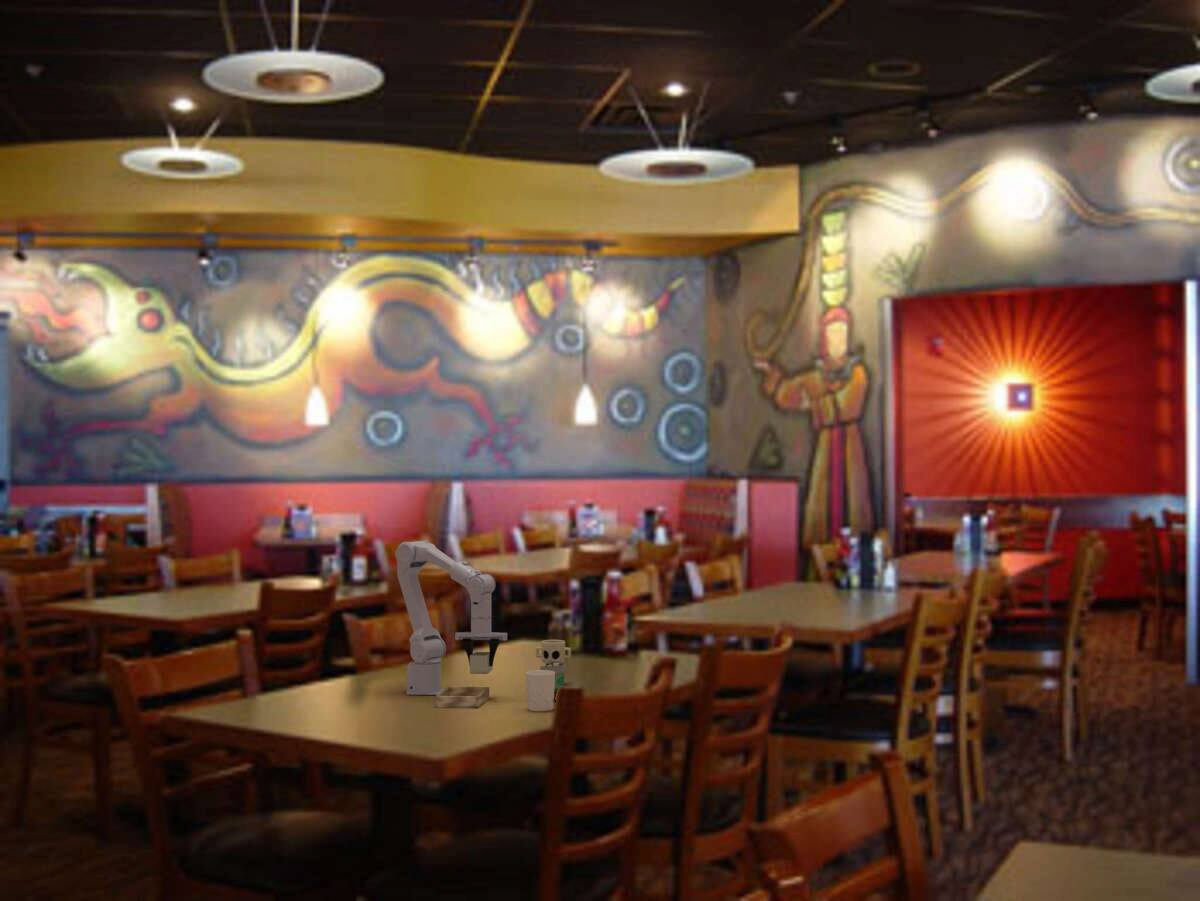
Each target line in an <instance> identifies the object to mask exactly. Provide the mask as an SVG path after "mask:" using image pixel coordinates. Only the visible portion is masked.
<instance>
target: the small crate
mask: <svg viewBox="0 0 1200 901" xmlns="http://www.w3.org/2000/svg"><path fill="white" fill-rule="evenodd" d="M489 658H490V651H473V654H472V655H470V666H469V674H470V675H473V674H474V675H475V674H476V675H488V674H489V673H490V672H492V671H493V668H494V665H493V666H489Z"/></svg>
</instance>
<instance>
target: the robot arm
mask: <svg viewBox="0 0 1200 901" xmlns="http://www.w3.org/2000/svg"><path fill="white" fill-rule="evenodd" d="M394 555H395V560H396V562H397V564H396V567H397V570H396V573H397V574H396V575H397V579H398V582H399V585H400V589H401V590H400V591H401V592H402V596H403V600H404V603H405V606H406V610H407V614H408V617H409V621H410V624H411V628H412V631H413V633H412V634H411V636H410V637H409V639H408V641H409V644H410V646H409V647H410V648H409V654H410V657H411V659H412V660H413V662H412V661H411V662H410V661H409V663H408V665H407V669H406V670H407V671H406V695H411V696H412V695H415V696H416V695H417V696H419V695H420V696H426V695H427V696H436V695H438V694H439V693H440V692H441V691H443V690H444V689H445V688H442V687H441V686H442V685H441V684H442V682H441V681H442V680H441V679H442V677H441V676H442V675H441V674H442V673H441V671H442V667H441V665H442V663H441V662H442V661H443V657H444V656H445V654H446V652H447V646H446V643H445V641H444V640H443V639H442V636H441V635H440V632H439V631H438V630H437V629H436V628H435V627H433V625H432V621H431V618H430V615H429V610H428V609H427V604H426V601H425V597H424V595H423V592H422V591H423V590H422V587H421V583H420V581H419V576H418V575H419V573H420V571H421V570H422V568H423V567H424V566H425V565H427V563H429V562H430V563H431V564H434V565H435V566H438V567H439V568H440V569H442V570H444V571H446V572H448V573H449V575H450V579H452V580H453V581H455V582H457V583H458V584H459V585H461V586H463V587H464V588H466V590H467V593H468V594H469V599H470V605H471V606H470V631H463V632H462V631H461V632H459V631H457V632H455V634H454V641H460V640H461V645H462V646H463V649H464V651H465V653H466V655H467V660H468V665H469V667H470V655H472V654H473V653H474V642H475V641H489V642H488V646H489V648H488V649H489V650H488V651H489V652H490V658H489V666H493V667H494V660H495V657H496V652H497V650H498V647H499V646H500V643H501V641H507V640H508V632H495V631H493V632H492V593H493V592H494V591H495V589H496V580H495V578H494V577H493V576H492V575H491V574H490V573H481V570H479V569H476V568H474V567H472V566H470V565H469V562H468V561H462V560H461V561H460V560H459V561H455V560H453V559H452V558H451V557H449V556H448V555H447V554H445V553H444V552H443V551H441V550H440V549H438V548H437V547H436V545H435V544H434V543H432V542H429V541H428V540H426V539H424V540H417V541H403V542H402V543H401V542H400V544H399V545H398V547H397V548H396V550H395V552H394Z"/></svg>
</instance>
